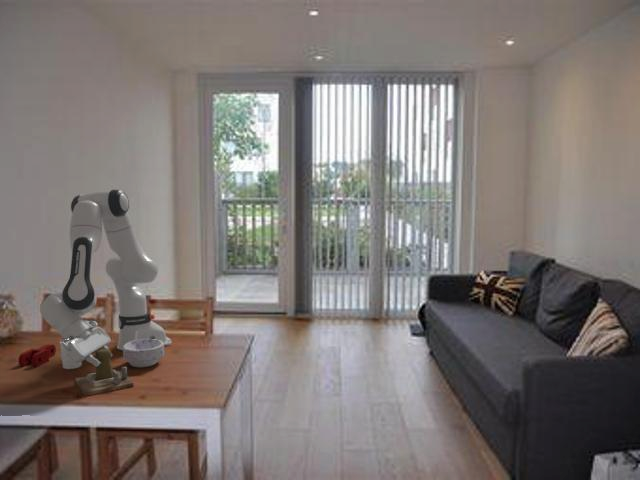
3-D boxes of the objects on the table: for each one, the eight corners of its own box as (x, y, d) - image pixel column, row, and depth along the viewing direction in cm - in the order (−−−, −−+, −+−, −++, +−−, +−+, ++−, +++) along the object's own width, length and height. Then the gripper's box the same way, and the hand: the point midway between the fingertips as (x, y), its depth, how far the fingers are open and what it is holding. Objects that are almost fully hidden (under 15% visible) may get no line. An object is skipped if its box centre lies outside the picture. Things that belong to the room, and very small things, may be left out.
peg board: (121, 372, 207) (121, 359, 206) (133, 386, 194) (133, 371, 193) (75, 381, 198) (74, 367, 198) (84, 396, 185) (83, 381, 184)
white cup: (88, 364, 217) (86, 339, 215) (73, 370, 209) (71, 344, 208) (71, 362, 219) (70, 337, 218) (56, 368, 212) (54, 343, 211)
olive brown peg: (98, 377, 199) (97, 347, 198) (115, 377, 199) (114, 347, 198) (92, 383, 193) (91, 352, 192) (110, 382, 193) (109, 351, 192)
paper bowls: (126, 372, 207) (126, 352, 206) (120, 361, 221) (120, 341, 220) (168, 366, 214) (167, 346, 213) (160, 355, 228) (159, 336, 227)
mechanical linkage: (35, 368, 212) (35, 355, 212) (18, 367, 213) (18, 354, 213) (61, 355, 228) (60, 343, 227) (45, 354, 229) (44, 342, 228)
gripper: (66, 335, 184) (95, 365, 184) (97, 319, 204) (124, 346, 204) (54, 348, 185) (83, 377, 185) (86, 331, 205) (112, 357, 205)
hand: (104, 361), depth 195 cm, fingers open, 6 cm apart
